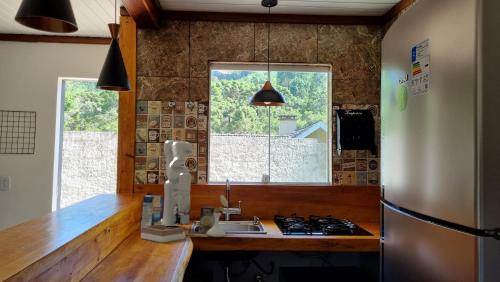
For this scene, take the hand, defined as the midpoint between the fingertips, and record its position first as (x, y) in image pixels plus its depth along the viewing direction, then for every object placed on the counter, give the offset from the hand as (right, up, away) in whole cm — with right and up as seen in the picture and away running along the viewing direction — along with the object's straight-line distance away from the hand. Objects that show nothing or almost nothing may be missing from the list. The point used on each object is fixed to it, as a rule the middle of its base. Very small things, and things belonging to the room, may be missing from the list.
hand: (181, 222), depth 213 cm
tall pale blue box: (0, -1, 0) cm, 1 cm away
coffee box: (+15, -8, +8) cm, 19 cm away
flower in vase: (+22, -8, -4) cm, 24 cm away
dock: (-6, -4, -19) cm, 20 cm away
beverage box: (-18, -5, -4) cm, 19 cm away
